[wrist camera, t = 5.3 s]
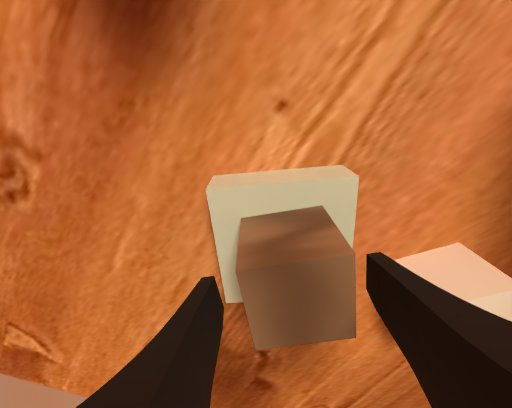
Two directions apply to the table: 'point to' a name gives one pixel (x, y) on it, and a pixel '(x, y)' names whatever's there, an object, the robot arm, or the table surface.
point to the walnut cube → (296, 278)
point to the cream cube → (464, 277)
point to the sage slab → (275, 206)
